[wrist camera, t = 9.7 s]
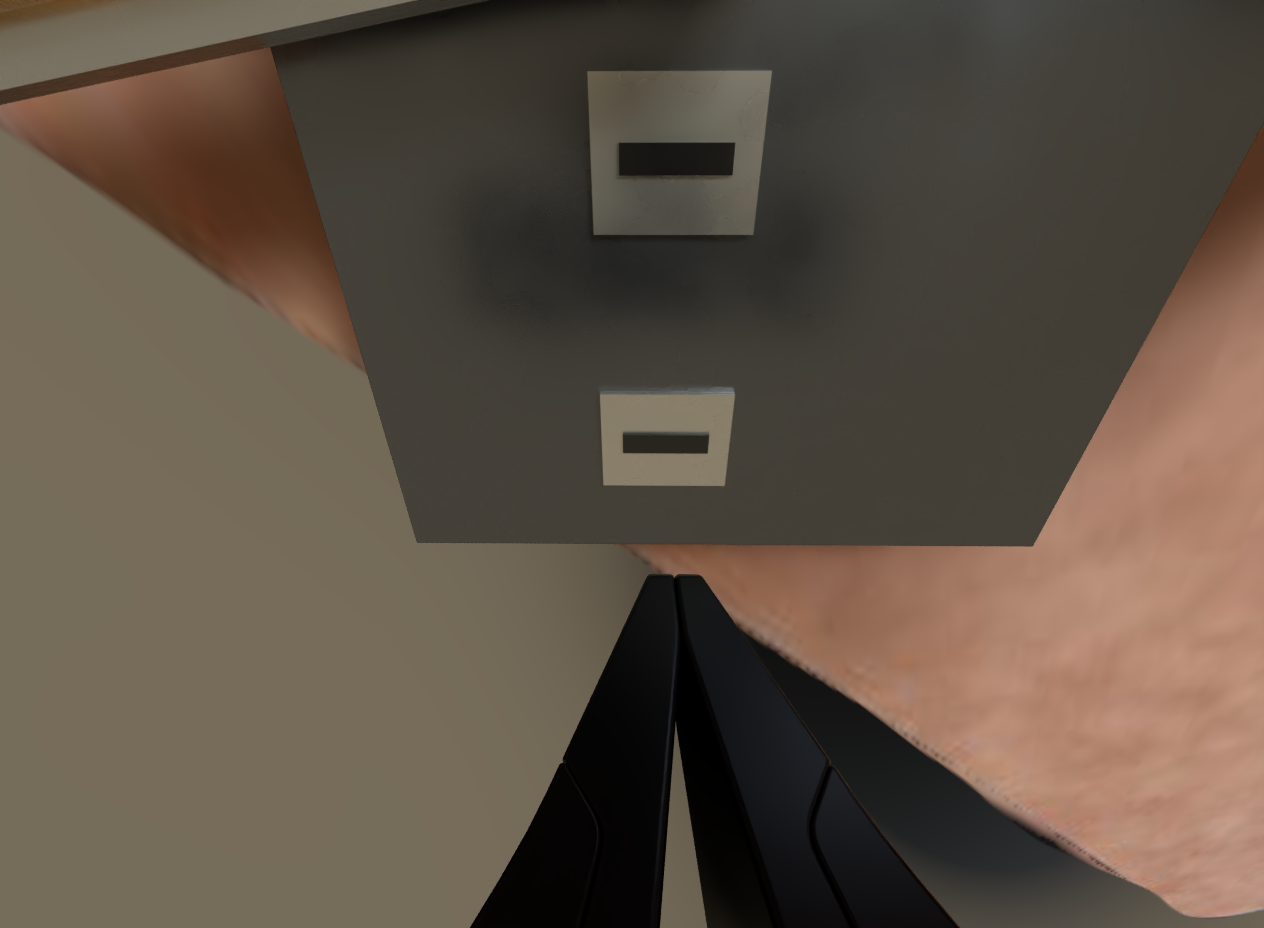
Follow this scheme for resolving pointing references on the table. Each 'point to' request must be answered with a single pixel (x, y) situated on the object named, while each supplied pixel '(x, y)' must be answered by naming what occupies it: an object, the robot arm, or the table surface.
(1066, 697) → the table surface
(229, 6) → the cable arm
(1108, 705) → the table surface
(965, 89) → the grey flat block
